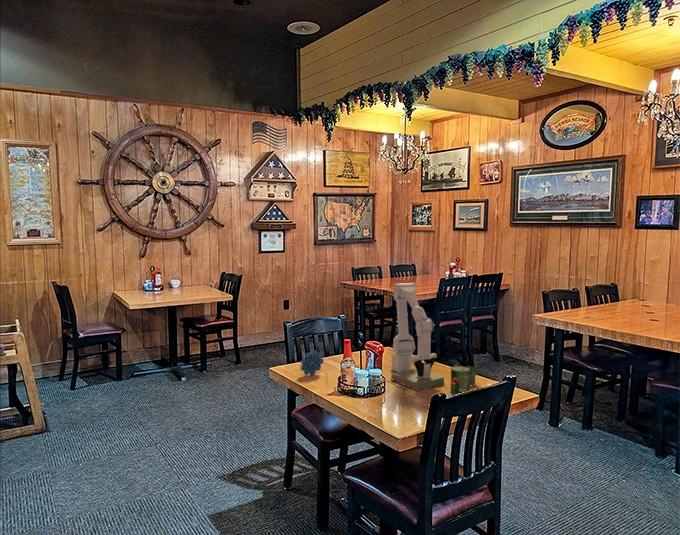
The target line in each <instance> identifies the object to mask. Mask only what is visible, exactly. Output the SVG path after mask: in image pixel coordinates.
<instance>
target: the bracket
mask: <svg viewBox="0 0 680 535" xmlns="http://www.w3.org/2000/svg"><path fill="white" fill-rule="evenodd" d="M453 365H454V366H458V364H457V363H454V364H453ZM454 366H453V367H454ZM478 375H479V365H478V364H474V371H473V370H470V378H469V387H471V386H470V385H474V384H475V385H476V376H478ZM475 385H474V386H475Z"/></svg>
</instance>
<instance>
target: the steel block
mask: <svg viewBox="0 0 680 535" xmlns="http://www.w3.org/2000/svg"><path fill="white" fill-rule="evenodd" d="M422 362H423V363H425V364H424V367H423V375H422V377H419V376H418V379H421V380H427V379H430V373H431V371H430V367H431V364H430V363H427V362H424V361H422Z"/></svg>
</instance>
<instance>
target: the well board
mask: <svg viewBox="0 0 680 535" xmlns="http://www.w3.org/2000/svg"><path fill="white" fill-rule="evenodd" d="M391 379H393V380H395V381H398V382H400V383H399V384H401V383H403V384H405V385H404V386H406V385H407V386H406V387H408V386H410V387H409V388H411V387H412V388H411V389H413V388H415V389H414V390H416V389H417V391H421V390H420V389H422V390H425V389H424V388H426V389H428V388H427V387H430V388H432V387H431V386H434V387H437V386H441V385H444V384H445V377H444V376H441V375H438V374H435V373H432V372H430V379H427V380H421V379H418V374H417V370H416V367H415V368H411V370H406V371H402V372H394V373H391ZM391 379H390V380H391ZM393 380H392V381H393ZM395 381H394V382H395ZM398 382H397V383H398ZM403 384H402V385H403ZM436 385H437V386H436Z"/></svg>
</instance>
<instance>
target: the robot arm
mask: <svg viewBox="0 0 680 535" xmlns="http://www.w3.org/2000/svg"><path fill="white" fill-rule="evenodd" d="M392 291H393V292H392V293H393V301H395V302H396V315H397V316H396V318H397V330H398V332H397V333H398V334H396V335H395V337H394V338H393V344H392V350H393V352H394V353H393V354H392V357H391V368H390V370H391V371H392V370H393V372H395V371H396V372H395V373H397V372H402V371H406V370H411V369H412V363H413V365H414V367H415V368H416V370H417V374H418V376H419V377H422V375H423V367H424V364H425V363H423V362H427V363H430V364H431V367H430V372H431V369H432V368H433V365H434V364H435V361H436V360H435V359H437V358H438V356H437V355H438V354H437V353H435V352H432V353H431V345H432V344H431V343H432V342H431V340H432V338H431V336H432V332H433V331H434V323H433V321H432V319H431V318H429V317H427V313H426V312H425V309H424V308H423V307H422V306H420V304H419V301H418V299H417V295H416V294H417V285H415V283H414V282H408V283H407V282H406V283H405V282H404V283H397V282H396V283H395V284H394V286H393V288H392ZM407 304H408V305H409V306H410V308H411V309H412V310H411V315H412V317H413V319H414V322H415V331H416V336H417V355H415V356H412V355H413V354H414V352H415V350H416V345H415V344H416V343H415V341H414V337H413V336H412V335H411V334H410V332H409V320H408V305H407Z"/></svg>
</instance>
